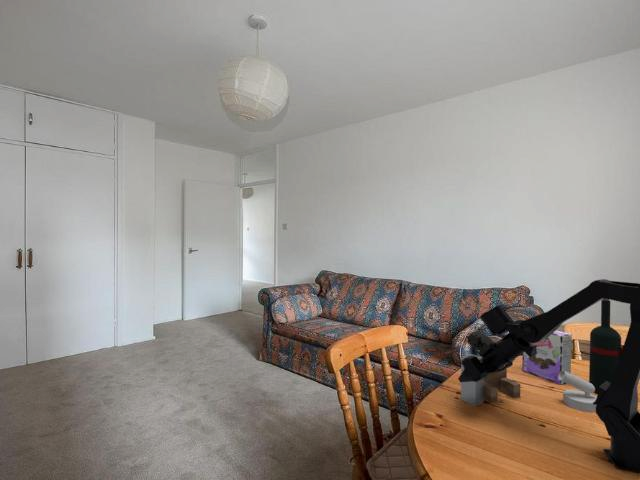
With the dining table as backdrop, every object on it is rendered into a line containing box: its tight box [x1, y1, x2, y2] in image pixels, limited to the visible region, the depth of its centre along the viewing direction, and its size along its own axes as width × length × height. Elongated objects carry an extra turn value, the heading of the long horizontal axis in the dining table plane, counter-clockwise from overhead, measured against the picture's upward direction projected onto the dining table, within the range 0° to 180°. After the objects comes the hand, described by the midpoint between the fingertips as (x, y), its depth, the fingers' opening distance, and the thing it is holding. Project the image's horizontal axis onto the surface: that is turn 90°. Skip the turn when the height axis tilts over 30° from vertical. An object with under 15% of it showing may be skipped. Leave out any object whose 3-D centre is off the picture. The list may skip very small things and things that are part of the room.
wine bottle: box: [588, 298, 624, 395], centre depth 110 cm, size 8×10×30 cm
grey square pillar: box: [460, 353, 485, 407], centre depth 104 cm, size 4×4×13 cm
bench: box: [484, 368, 521, 404], centre depth 108 cm, size 8×14×7 cm, turn 110°
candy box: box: [521, 330, 573, 385], centre depth 123 cm, size 14×6×16 cm, turn 25°
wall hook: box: [558, 370, 597, 413], centre depth 102 cm, size 9×10×10 cm
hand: (468, 376), depth 105 cm, fingers open, 9 cm apart
